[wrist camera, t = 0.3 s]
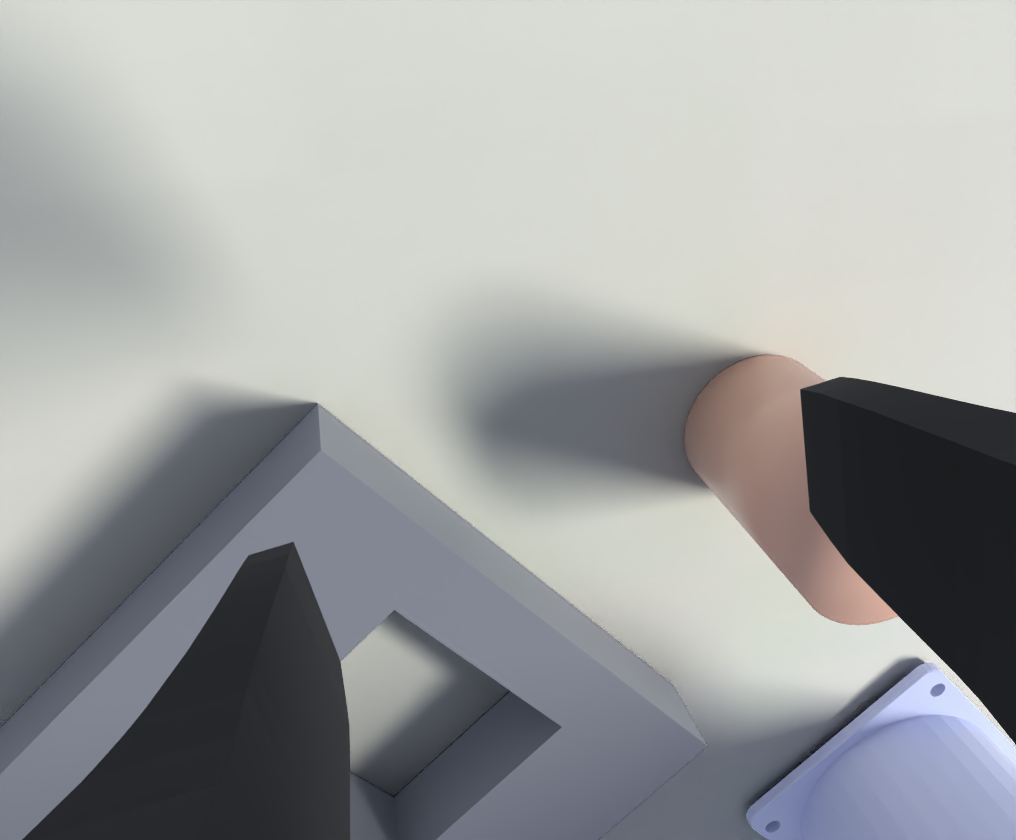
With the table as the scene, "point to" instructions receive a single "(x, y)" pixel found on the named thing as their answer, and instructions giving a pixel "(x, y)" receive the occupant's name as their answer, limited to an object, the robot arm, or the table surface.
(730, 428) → the pink rounded capsule
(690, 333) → the table surface
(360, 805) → the housing
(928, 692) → the robot arm
